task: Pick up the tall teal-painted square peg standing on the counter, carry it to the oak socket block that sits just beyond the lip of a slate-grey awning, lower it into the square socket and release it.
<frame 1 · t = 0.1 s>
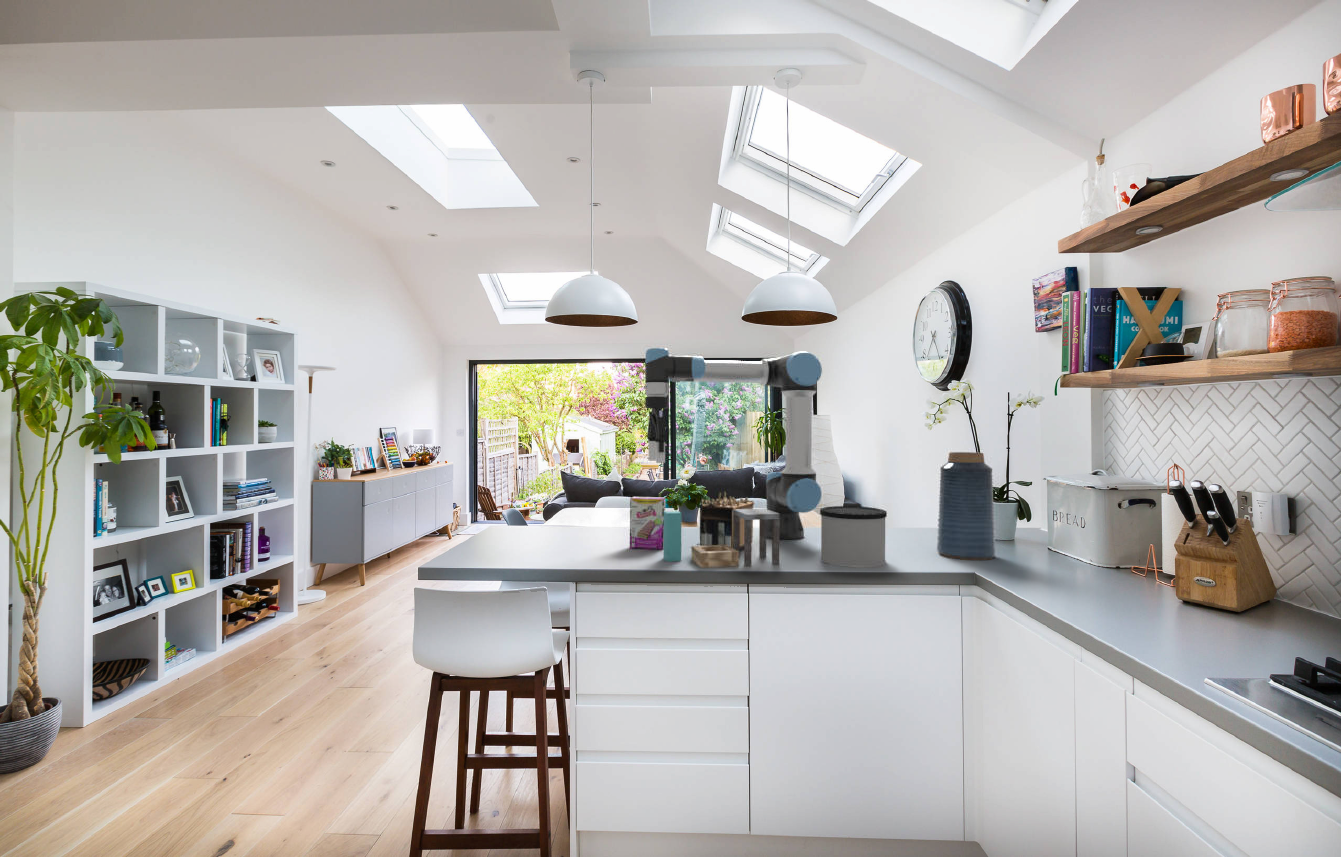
hand: (656, 461, 207), 28 cm above the countertop, fingers open, 13 cm apart
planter: (727, 549, 206), on the countertop
candy bar box: (647, 548, 207), on the countertop
socket station: (734, 561, 186), on the countertop
container: (852, 561, 188), on the countertop
vase: (965, 555, 196), on the countertop
peg: (672, 559, 189), on the countertop
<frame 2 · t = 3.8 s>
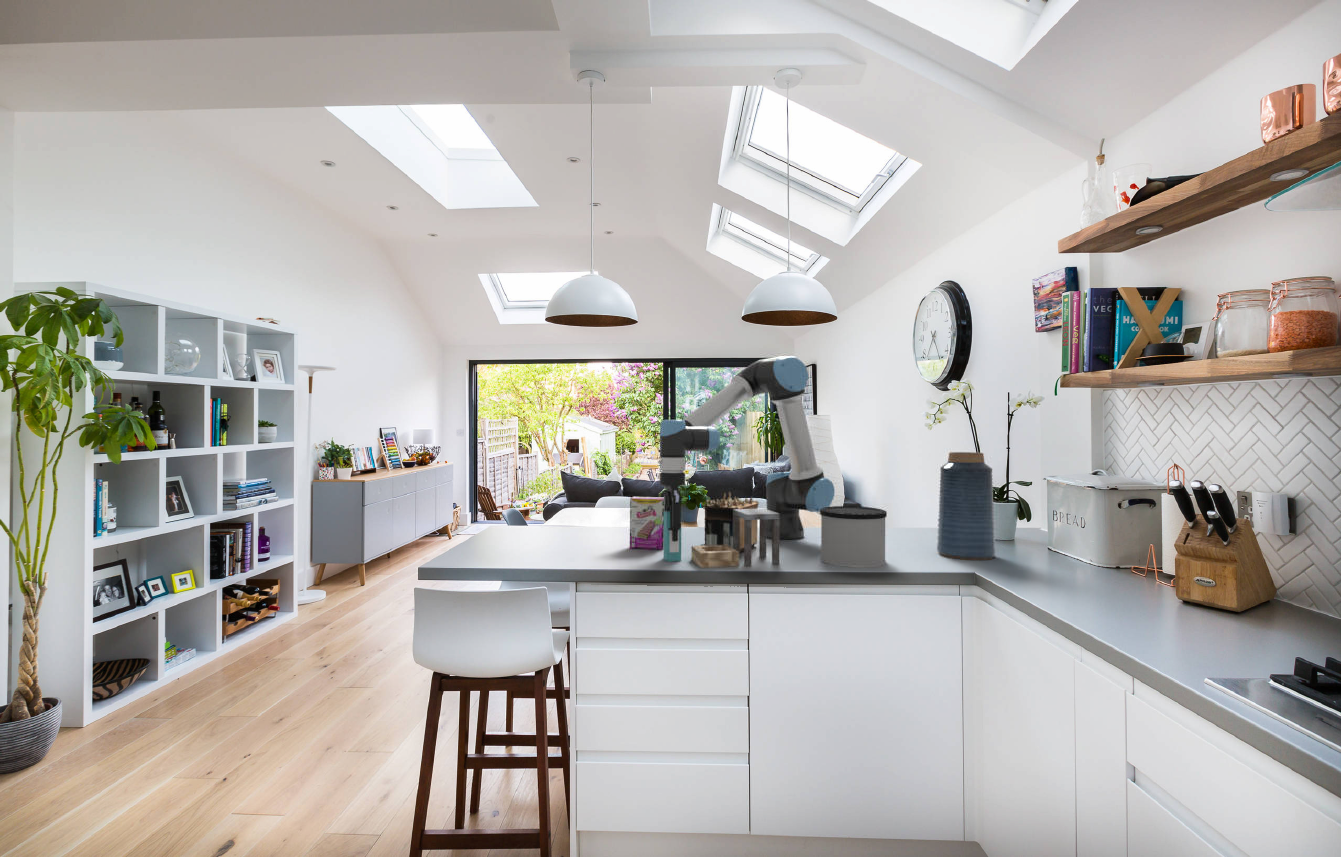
hand: (672, 550, 189), 3 cm above the countertop, fingers closed on peg, 4 cm apart
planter: (732, 550, 205), on the countertop
peg: (672, 559, 189), on the countertop, touching gripper
everything else where it was.
when the fingers open (6 cm above the countertop, at t = 8.4 s): peg drops 3 cm, resting in socket station.
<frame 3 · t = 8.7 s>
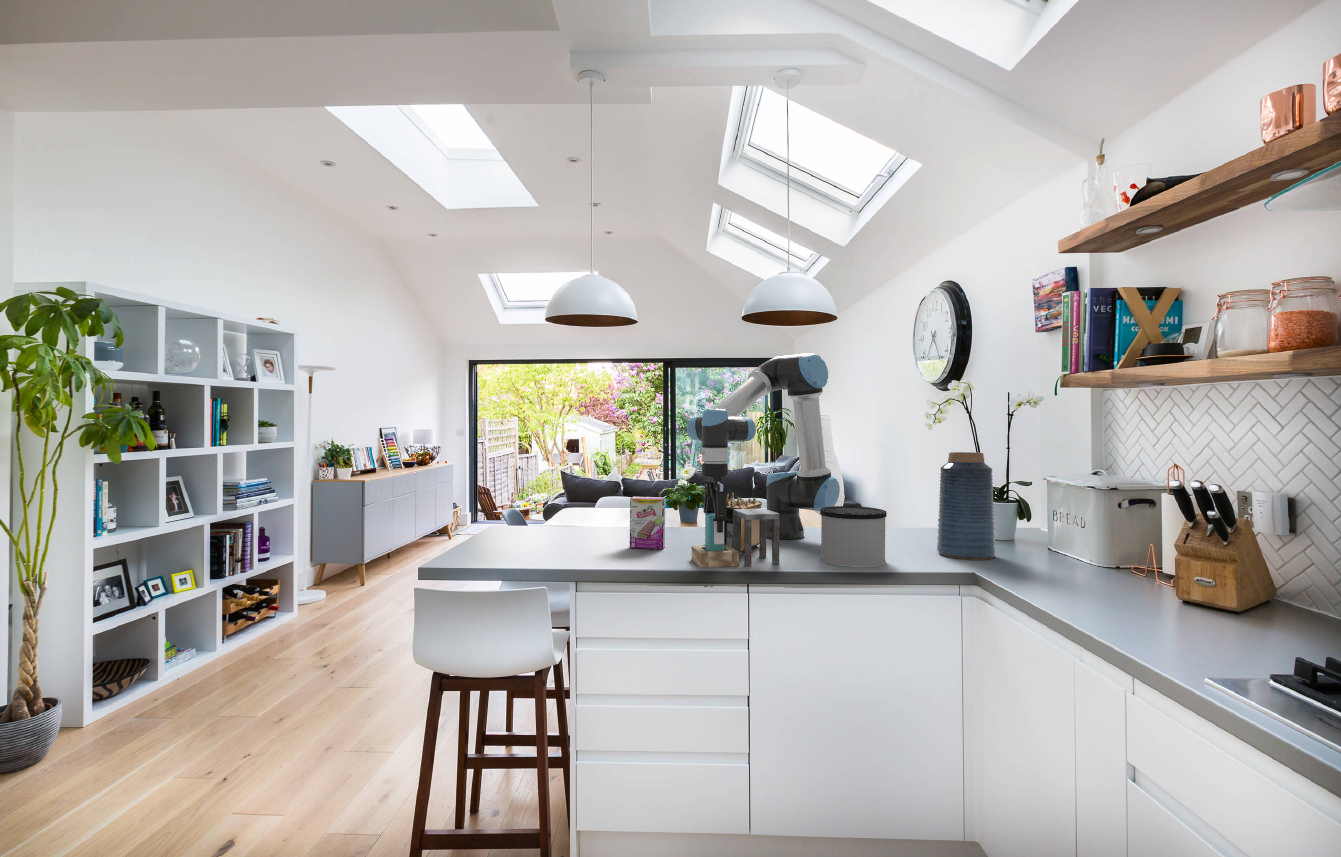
hand: (714, 541, 185), 6 cm above the countertop, fingers open, 8 cm apart
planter: (735, 550, 205), on the countertop
peg: (714, 562, 185), resting in socket station
everything else where it was.
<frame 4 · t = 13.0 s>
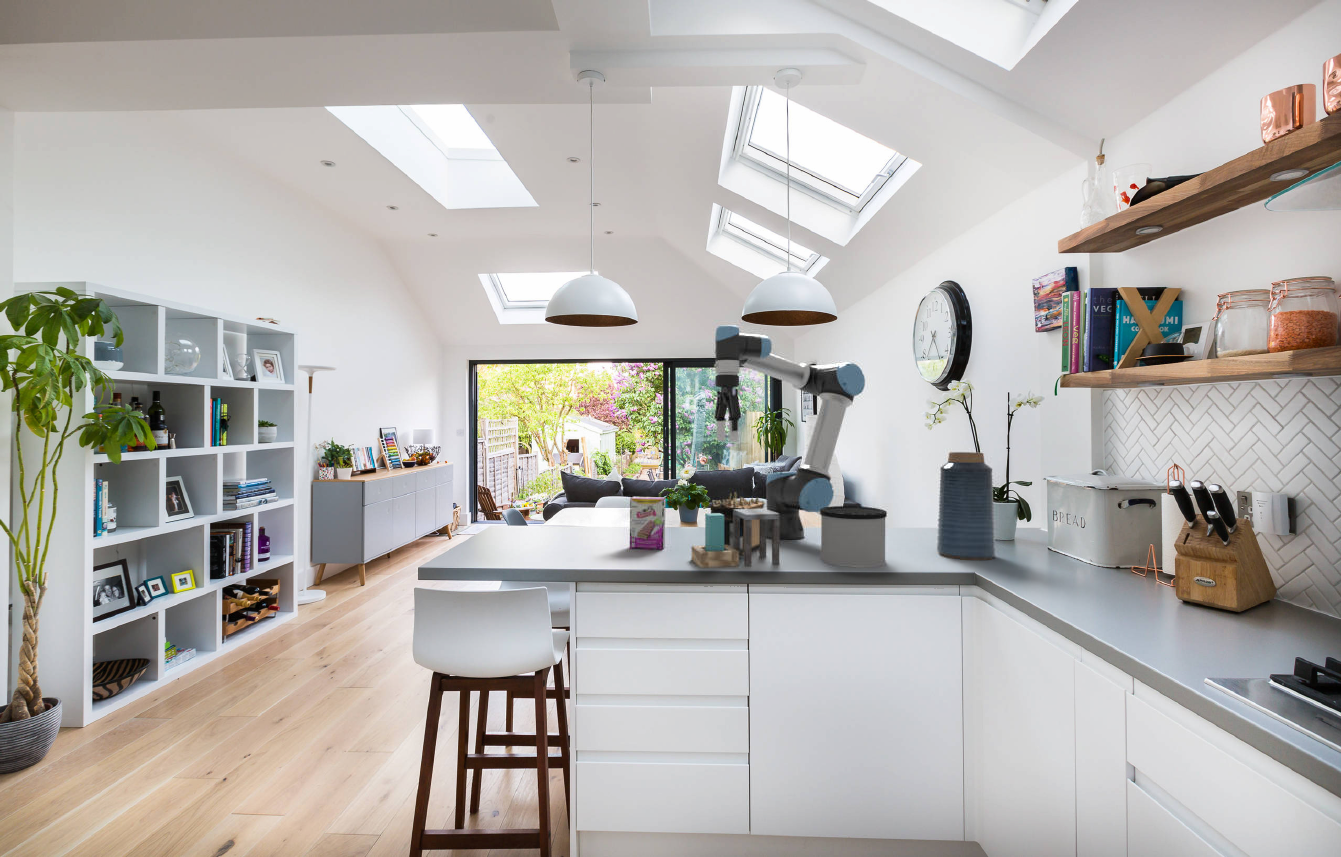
hand: (727, 441, 203), 35 cm above the countertop, fingers open, 13 cm apart
at the end: peg 0.0 cm from the target spot on the socket station, point 0.0 cm above the socket station's base; peg tilted 0°; the gripper is holding nothing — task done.
